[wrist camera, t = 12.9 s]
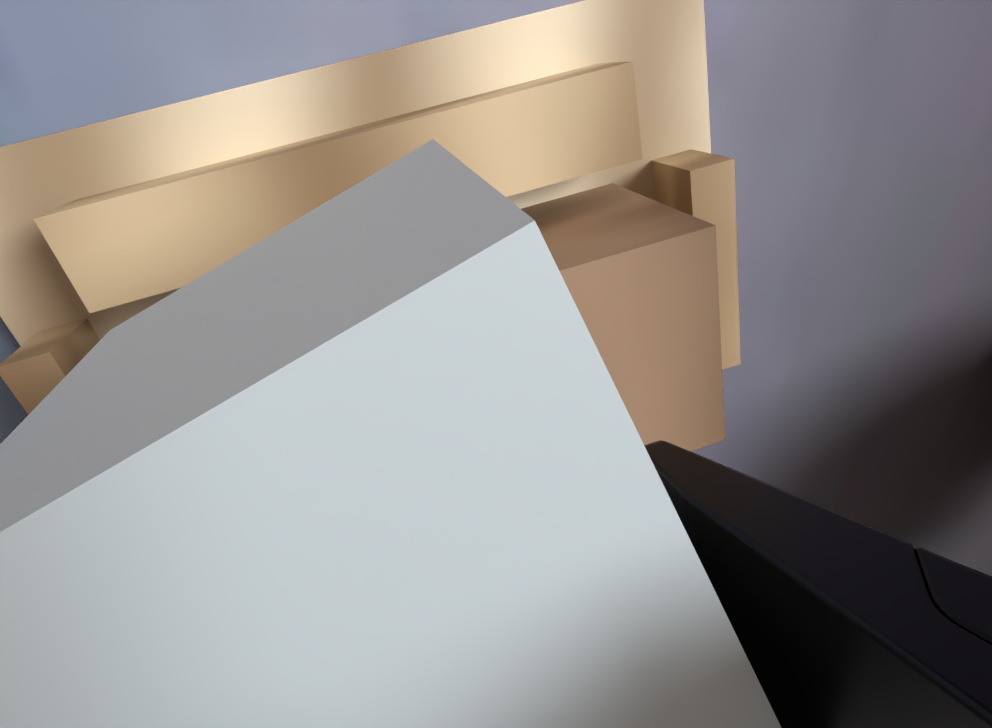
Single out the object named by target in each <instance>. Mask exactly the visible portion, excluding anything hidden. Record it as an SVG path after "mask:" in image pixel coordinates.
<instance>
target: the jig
mask: <svg viewBox="0 0 992 728" xmlns="http://www.w3.org/2000/svg"><path fill="white" fill-rule="evenodd" d="M432 139H433V140H434V141H436V142H437V143H438V144H440V145H441V146H442V147H443V148H445V149H446V150H447V151H448V152H450V153H451V154H452V155H453V156H455V157H456V158H457V159H458V160H460V161H461V162H462V163H463V164H465V165H466V166H467V167H468V168H470V169H471V170H472V171H473V172H475V173H476V174H477V175H478V176H480V177H481V178H482V179H483V180H485V181H486V182H487V183H489V184H490V185H491V186H492V187H494V188H495V189H496V190H497V191H499V192H500V193H501V194H502V195H504V196H505V197H506V198H507V199H509V200H510V201H511V202H512V203H514V204H515V205H516V206H517V207H519V208H520V209H522V208H525V207H529V206H532V205H536V204H540V203H543V202H547V201H550V200H554V199H558V198H561V197H565V196H568V195H572V194H575V193H579V192H583V191H586V190H590V189H593V188H597V187H601V186H604V185H608V184H611V183H613V184H616V185H618V186H621V187H623V188H625V189H628V190H630V191H633V192H635V193H638V194H640V195H643V196H645V197H647V198H650V199H652V200H655V201H657V202H660V203H662V204H665V205H667V206H669V207H672V208H674V209H677V210H679V211H682V212H684V213H687V214H689V215H691V216H694V217H696V218H699V219H701V220H704V221H706V222H709V223H711V224H713V225H716V243H717V265H718V287H719V309H720V332H721V354H722V370H723V369H726V368H729V367H733V366H736V365H739V364H740V332H739V299H738V266H737V233H736V200H735V167H734V158H729V157H725V156H720V155H715V154H711V142H710V122H709V101H708V80H707V59H706V38H705V17H704V0H585V1H581V2H577V3H573V4H569V5H565V6H561V7H557V8H553V9H549V10H545V11H541V12H537V13H533V14H529V15H525V16H521V17H517V18H513V19H509V20H505V21H501V22H497V23H493V24H489V25H485V26H481V27H477V28H473V29H469V30H465V31H461V32H457V33H453V34H449V35H445V36H441V37H437V38H433V39H429V40H425V41H421V42H417V43H413V44H409V45H405V46H401V47H397V48H393V49H389V50H385V51H381V52H377V53H373V54H369V55H365V56H361V57H357V58H353V59H349V60H345V61H341V62H337V63H333V64H329V65H325V66H321V67H317V68H313V69H309V70H305V71H302V72H298V73H294V74H290V75H286V76H282V77H278V78H274V79H270V80H266V81H262V82H258V83H254V84H250V85H246V86H242V87H238V88H234V89H230V90H226V91H222V92H218V93H214V94H210V95H206V96H202V97H198V98H194V99H190V100H186V101H182V102H178V103H174V104H170V105H166V106H162V107H158V108H154V109H150V110H146V111H142V112H138V113H134V114H130V115H126V116H122V117H118V118H114V119H110V120H106V121H102V122H98V123H94V124H90V125H86V126H82V127H78V128H74V129H70V130H66V131H62V132H58V133H54V134H50V135H46V136H42V137H38V138H34V139H30V140H26V141H22V142H18V143H14V144H10V145H6V146H2V147H0V316H1V318H2V319H3V321H4V322H5V324H6V325H7V327H8V328H9V330H10V331H11V333H12V334H13V336H14V337H15V339H16V340H17V342H18V343H19V345H20V346H21V347H20V348H19V349H17V350H16V351H15V352H14V353H12V354H11V355H10V356H9V357H8V358H6V359H5V360H4V361H3V362H1V363H0V376H1V377H2V379H3V380H4V382H5V383H6V384H7V386H8V387H9V389H10V390H11V391H12V393H13V394H14V396H15V397H16V398H17V400H18V401H19V403H20V404H21V405H22V407H23V408H24V410H25V411H26V412H27V414H28V415H29V414H30V413H31V412H32V411H33V410H34V409H35V408H36V407H37V406H38V405H39V403H40V402H41V401H42V400H43V399H44V398H45V397H46V396H47V395H48V394H49V393H50V392H51V391H52V390H53V389H54V388H55V387H56V386H57V385H58V384H59V383H60V382H61V381H62V380H63V378H64V377H65V376H66V375H67V374H68V373H69V372H70V371H71V370H72V369H73V368H74V367H75V366H76V365H77V364H78V363H79V362H80V361H81V360H82V359H83V358H84V357H85V356H86V355H87V354H88V352H89V351H90V350H91V349H92V348H93V347H94V346H95V345H96V344H97V343H98V342H99V341H100V340H101V339H102V338H103V337H104V336H105V335H106V334H107V333H108V332H109V331H110V330H111V329H113V328H115V327H116V326H118V325H120V324H121V323H123V322H125V321H126V320H128V319H130V318H131V317H133V316H135V315H136V314H138V313H140V312H142V311H143V310H145V309H147V308H148V307H150V306H152V305H153V304H155V303H157V302H158V301H160V300H162V299H163V298H165V297H167V296H169V295H170V294H172V293H174V292H175V291H177V290H179V289H180V288H182V287H184V286H185V285H187V284H189V283H190V282H192V281H194V280H196V279H197V278H199V277H201V276H202V275H204V274H206V273H207V272H209V271H211V270H212V269H214V268H216V267H217V266H219V265H221V264H223V263H224V262H226V261H228V260H229V259H231V258H233V257H234V256H236V255H238V254H239V253H241V252H243V251H244V250H246V249H248V248H250V247H251V246H253V245H255V244H256V243H258V242H260V241H261V240H263V239H265V238H266V237H268V236H270V235H271V234H273V233H275V232H277V231H278V230H280V229H282V228H283V227H285V226H287V225H288V224H290V223H292V222H293V221H295V220H297V219H298V218H300V217H302V216H304V215H305V214H307V213H309V212H310V211H312V210H314V209H315V208H317V207H319V206H320V205H322V204H324V203H325V202H327V201H329V200H331V199H332V198H334V197H336V196H337V195H339V194H341V193H342V192H344V191H346V190H347V189H349V188H351V187H352V186H354V185H356V184H358V183H359V182H361V181H363V180H364V179H366V178H368V177H369V176H371V175H373V174H374V173H376V172H378V171H379V170H381V169H383V168H385V167H386V166H388V165H390V164H391V163H393V162H395V161H396V160H398V159H400V158H401V157H403V156H405V155H406V154H408V153H410V152H412V151H413V150H415V149H417V148H418V147H420V146H422V145H423V144H425V143H427V142H428V141H430V140H432Z"/></svg>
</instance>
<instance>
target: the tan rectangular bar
mask: <svg viewBox="0 0 992 728" xmlns="http://www.w3.org/2000/svg"><path fill="white" fill-rule="evenodd" d="M521 210H522V211H524V212H525V213H526V214H527V215H529V216H530V217H531V218H532V219H534V220H535V222H536V224H537V226H538V228H539V230H540V232H541V234H542V236H543V238H544V240H545V242H546V244H547V246H548V249H549V251H550V253H551V255H552V257H553V259H554V261H555V263H556V265H557V267H558V269H559V271H560V273H561V275H562V277H563V279H564V281H565V283H566V286H567V288H568V290H569V292H570V294H571V296H572V298H573V300H574V302H575V304H576V306H577V308H578V310H579V312H580V314H581V316H582V318H583V321H584V323H585V325H586V327H587V329H588V331H589V333H590V335H591V337H592V339H593V341H594V343H595V345H596V347H597V349H598V351H599V353H600V356H601V358H602V360H603V362H604V364H605V366H606V368H607V370H608V372H609V374H610V376H611V378H612V380H613V382H614V384H615V386H616V388H617V390H618V393H619V395H620V397H621V399H622V401H623V403H624V405H625V407H626V409H627V411H628V413H629V415H630V417H631V419H632V421H633V423H634V425H635V428H636V430H637V432H638V434H639V436H640V438H641V440H642V442H643V444H644V445H646V444H649V443H652V442H655V441H659V440H663V441H667V442H669V443H672V444H674V445H676V446H679V447H681V448H683V449H686V450H688V451H692V450H695V449H698V448H701V447H704V446H707V445H710V444H713V443H716V442H720V441H723V440H725V421H724V398H723V376H722V354H721V332H720V309H719V287H718V265H717V243H716V225H713V224H711V223H709V222H706V221H704V220H701V219H699V218H696V217H694V216H691V215H689V214H687V213H684V212H682V211H679V210H677V209H674V208H672V207H669V206H667V205H665V204H662V203H660V202H657V201H655V200H652V199H650V198H647V197H645V196H643V195H640V194H638V193H635V192H633V191H630V190H628V189H625V188H623V187H621V186H618V185H616V184H613V183H611V184H608V185H604V186H601V187H597V188H593V189H590V190H586V191H583V192H579V193H575V194H572V195H568V196H565V197H561V198H558V199H554V200H550V201H547V202H543V203H540V204H536V205H532V206H529V207H525V208H522V209H521Z"/></svg>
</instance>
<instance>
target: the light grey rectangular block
mask: <svg viewBox="0 0 992 728" xmlns="http://www.w3.org/2000/svg"><path fill="white" fill-rule="evenodd" d="M0 728H781V726H780V724H779V722H778V720H777V718H776V716H775V714H774V711H773V709H772V707H771V705H770V703H769V701H768V699H767V697H766V695H765V693H764V691H763V689H762V687H761V685H760V683H759V681H758V679H757V676H756V674H755V672H754V670H753V668H752V666H751V664H750V662H749V660H748V658H747V656H746V654H745V652H744V650H743V648H742V646H741V644H740V642H739V639H738V637H737V635H736V633H735V631H734V629H733V627H732V625H731V623H730V621H729V619H728V617H727V615H726V613H725V611H724V609H723V607H722V604H721V602H720V600H719V598H718V596H717V594H716V592H715V590H714V588H713V586H712V584H711V582H710V580H709V578H708V576H707V574H706V572H705V569H704V567H703V565H702V563H701V561H700V559H699V557H698V555H697V553H696V551H695V549H694V547H693V545H692V543H691V541H690V539H689V537H688V535H687V532H686V530H685V528H684V526H683V524H682V522H681V520H680V518H679V516H678V514H677V512H676V510H675V508H674V506H673V504H672V502H671V500H670V497H669V495H668V493H667V491H666V489H665V487H664V485H663V483H662V481H661V479H660V477H659V475H658V473H657V471H656V469H655V467H654V465H653V463H652V460H651V458H650V456H649V454H648V452H647V450H646V448H645V446H644V444H643V442H642V440H641V438H640V436H639V434H638V432H637V430H636V428H635V425H634V423H633V421H632V419H631V417H630V415H629V413H628V411H627V409H626V407H625V405H624V403H623V401H622V399H621V397H620V395H619V393H618V390H617V388H616V386H615V384H614V382H613V380H612V378H611V376H610V374H609V372H608V370H607V368H606V366H605V364H604V362H603V360H602V358H601V356H600V353H599V351H598V349H597V347H596V345H595V343H594V341H593V339H592V337H591V335H590V333H589V331H588V329H587V327H586V325H585V323H584V321H583V318H582V316H581V314H580V312H579V310H578V308H577V306H576V304H575V302H574V300H573V298H572V296H571V294H570V292H569V290H568V288H567V286H566V283H565V281H564V279H563V277H562V275H561V273H560V271H559V269H558V267H557V265H556V263H555V261H554V259H553V257H552V255H551V253H550V251H549V249H548V246H547V244H546V242H545V240H544V238H543V236H542V234H541V232H540V230H539V228H538V226H537V224H536V222H535V220H534V219H532V218H531V217H530V216H529V215H527V214H526V213H525V212H524V211H522V210H521V209H520V208H519V207H517V206H516V205H515V204H514V203H512V202H511V201H510V200H509V199H507V198H506V197H505V196H504V195H502V194H501V193H500V192H499V191H497V190H496V189H495V188H494V187H492V186H491V185H490V184H489V183H487V182H486V181H485V180H483V179H482V178H481V177H480V176H478V175H477V174H476V173H475V172H473V171H472V170H471V169H470V168H468V167H467V166H466V165H465V164H463V163H462V162H461V161H460V160H458V159H457V158H456V157H455V156H453V155H452V154H451V153H450V152H448V151H447V150H446V149H445V148H443V147H442V146H441V145H440V144H438V143H437V142H436V141H434V140H433V139H432V140H430V141H428V142H427V143H425V144H423V145H422V146H420V147H418V148H417V149H415V150H413V151H412V152H410V153H408V154H406V155H405V156H403V157H401V158H400V159H398V160H396V161H395V162H393V163H391V164H390V165H388V166H386V167H385V168H383V169H381V170H379V171H378V172H376V173H374V174H373V175H371V176H369V177H368V178H366V179H364V180H363V181H361V182H359V183H358V184H356V185H354V186H352V187H351V188H349V189H347V190H346V191H344V192H342V193H341V194H339V195H337V196H336V197H334V198H332V199H331V200H329V201H327V202H325V203H324V204H322V205H320V206H319V207H317V208H315V209H314V210H312V211H310V212H309V213H307V214H305V215H304V216H302V217H300V218H298V219H297V220H295V221H293V222H292V223H290V224H288V225H287V226H285V227H283V228H282V229H280V230H278V231H277V232H275V233H273V234H271V235H270V236H268V237H266V238H265V239H263V240H261V241H260V242H258V243H256V244H255V245H253V246H251V247H250V248H248V249H246V250H244V251H243V252H241V253H239V254H238V255H236V256H234V257H233V258H231V259H229V260H228V261H226V262H224V263H223V264H221V265H219V266H217V267H216V268H214V269H212V270H211V271H209V272H207V273H206V274H204V275H202V276H201V277H199V278H197V279H196V280H194V281H192V282H190V283H189V284H187V285H185V286H184V287H182V288H180V289H179V290H177V291H175V292H174V293H172V294H170V295H169V296H167V297H165V298H163V299H162V300H160V301H158V302H157V303H155V304H153V305H152V306H150V307H148V308H147V309H145V310H143V311H142V312H140V313H138V314H136V315H135V316H133V317H131V318H130V319H128V320H126V321H125V322H123V323H121V324H120V325H118V326H116V327H115V328H113V329H111V330H110V331H109V332H108V333H107V334H106V335H105V336H104V337H103V338H102V339H101V340H100V341H99V342H98V343H97V344H96V345H95V346H94V347H93V348H92V349H91V350H90V351H89V352H88V354H87V355H86V356H85V357H84V358H83V359H82V360H81V361H80V362H79V363H78V364H77V365H76V366H75V367H74V368H73V369H72V370H71V371H70V372H69V373H68V374H67V375H66V376H65V377H64V378H63V380H62V381H61V382H60V383H59V384H58V385H57V386H56V387H55V388H54V389H53V390H52V391H51V392H50V393H49V394H48V395H47V396H46V397H45V398H44V399H43V400H42V401H41V402H40V403H39V405H38V406H37V407H36V408H35V409H34V410H33V411H32V412H31V413H30V414H29V415H28V416H27V417H26V418H25V419H24V420H23V421H22V422H21V423H20V424H19V425H18V426H17V427H16V428H15V430H14V431H13V432H12V433H11V434H10V435H9V436H8V437H7V438H6V439H5V440H4V441H3V442H2V443H1V444H0Z"/></svg>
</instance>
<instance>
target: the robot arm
mask: <svg viewBox="0 0 992 728" xmlns="http://www.w3.org/2000/svg"><path fill="white" fill-rule="evenodd" d="M644 446H645V448H646V450H647V452H648V454H649V456H650V458H651V460H652V463H653V465H654V467H655V469H656V471H657V473H658V475H659V477H660V479H661V481H662V483H663V485H664V487H665V489H666V491H667V493H668V495H669V497H670V500H671V502H672V504H673V506H674V508H675V510H676V512H677V514H678V516H679V518H680V520H681V522H682V524H683V526H684V528H685V530H686V532H687V535H688V537H689V539H690V541H691V543H692V545H693V547H694V549H695V551H696V553H697V555H698V557H699V559H700V561H701V563H702V565H703V567H704V569H705V572H706V574H707V576H708V578H709V580H710V582H711V584H712V586H713V588H714V590H715V592H716V594H717V596H718V598H719V600H720V602H721V604H722V607H723V609H724V611H725V613H726V615H727V617H728V619H729V621H730V623H731V625H732V627H733V629H734V631H735V633H736V635H737V637H738V639H739V642H740V644H741V646H742V648H743V650H744V652H745V654H746V656H747V658H748V660H749V662H750V664H751V666H752V668H753V670H754V672H755V674H756V676H757V679H758V681H759V683H760V685H761V687H762V689H763V691H764V693H765V695H766V697H767V699H768V701H769V703H770V705H771V707H772V709H773V711H774V714H775V716H776V718H777V720H778V722H779V724H780V726H781V728H992V576H989V575H987V574H984V573H982V572H979V571H977V570H974V569H972V568H969V567H966V566H964V565H961V564H959V563H956V562H954V561H952V560H949V559H947V558H944V557H942V556H940V555H937V554H935V553H932V552H930V551H928V550H925V549H923V548H920V547H917V548H915V549H914V548H913V546H912V545H911V544H910V543H908V542H906V541H903V540H901V539H898V538H896V537H894V536H891V535H889V534H886V533H884V532H882V531H879V530H877V529H875V528H872V527H870V526H867V525H865V524H863V523H860V522H858V521H855V520H853V519H851V518H848V517H846V516H843V515H841V514H839V513H836V512H834V511H832V510H829V509H827V508H824V507H822V506H820V505H817V504H815V503H812V502H810V501H808V500H805V499H803V498H801V497H798V496H796V495H793V494H791V493H789V492H786V491H784V490H781V489H779V488H777V487H774V486H772V485H769V484H767V483H765V482H762V481H760V480H758V479H755V478H753V477H750V476H748V475H746V474H743V473H741V472H738V471H736V470H734V469H731V468H729V467H726V466H724V465H722V464H719V463H717V462H715V461H712V460H710V459H707V458H705V457H703V456H700V455H698V454H695V453H693V452H691V451H688V450H686V449H683V448H681V447H679V446H676V445H674V444H672V443H669V442H667V441H663V440H659V441H655V442H652V443H649V444H646V445H644Z"/></svg>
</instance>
